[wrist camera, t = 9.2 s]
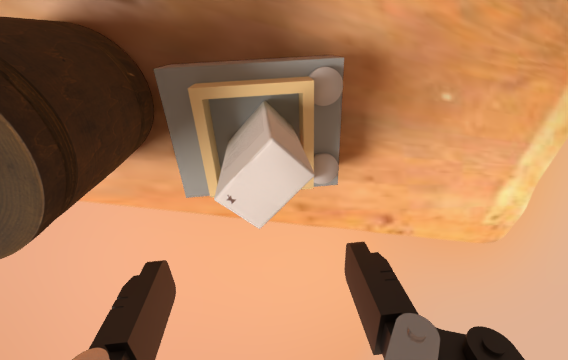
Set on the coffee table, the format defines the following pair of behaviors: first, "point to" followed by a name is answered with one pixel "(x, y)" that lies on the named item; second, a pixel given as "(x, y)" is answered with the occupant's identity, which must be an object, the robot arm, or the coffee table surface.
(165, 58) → the coffee table surface
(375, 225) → the coffee table surface
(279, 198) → the skincare box
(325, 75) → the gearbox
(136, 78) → the wooden container
